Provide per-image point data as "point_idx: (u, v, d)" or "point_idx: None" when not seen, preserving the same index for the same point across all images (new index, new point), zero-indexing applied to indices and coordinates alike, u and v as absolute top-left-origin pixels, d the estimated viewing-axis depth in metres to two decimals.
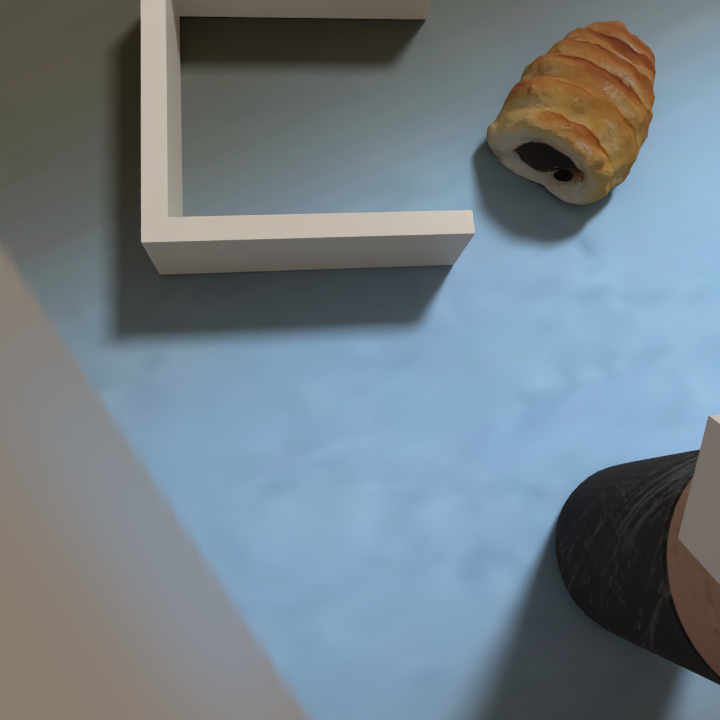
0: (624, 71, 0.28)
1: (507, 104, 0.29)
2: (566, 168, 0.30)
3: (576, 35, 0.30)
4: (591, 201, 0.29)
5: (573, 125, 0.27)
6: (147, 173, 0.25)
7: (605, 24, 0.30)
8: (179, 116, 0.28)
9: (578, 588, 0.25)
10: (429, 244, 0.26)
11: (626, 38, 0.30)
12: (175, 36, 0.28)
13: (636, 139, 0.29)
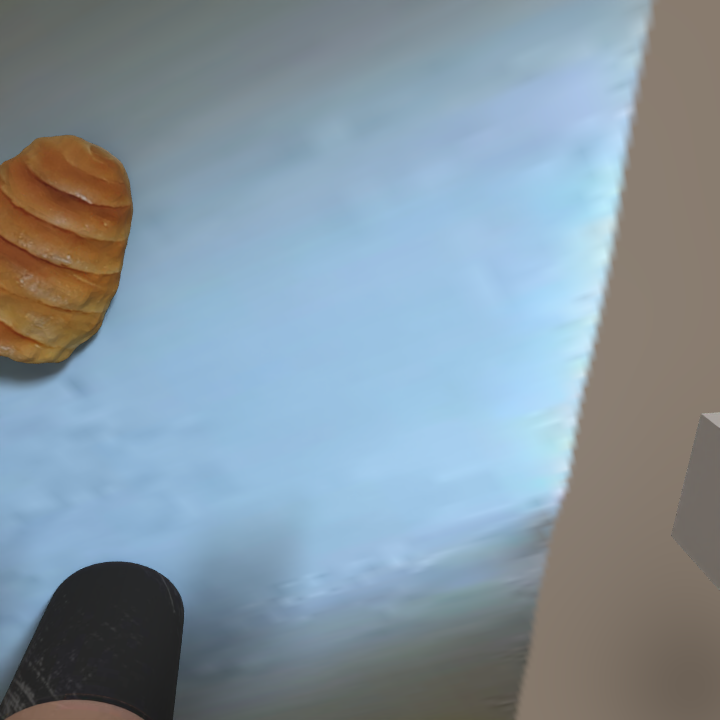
0: (51, 250, 0.24)
1: None
2: None
3: (4, 178, 0.24)
4: None
5: None
6: None
7: (44, 159, 0.24)
8: None
9: None
10: None
11: (68, 185, 0.24)
12: None
13: (86, 313, 0.26)
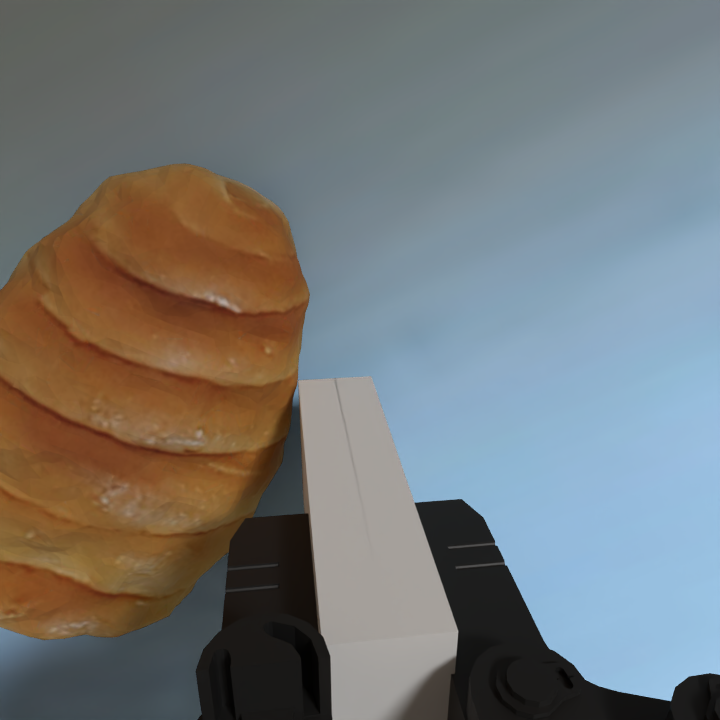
0: (164, 427, 0.11)
1: None
2: None
3: (46, 277, 0.10)
4: None
5: (27, 607, 0.11)
6: None
7: (132, 227, 0.10)
8: None
9: None
10: None
11: (189, 279, 0.10)
12: None
13: (231, 524, 0.13)
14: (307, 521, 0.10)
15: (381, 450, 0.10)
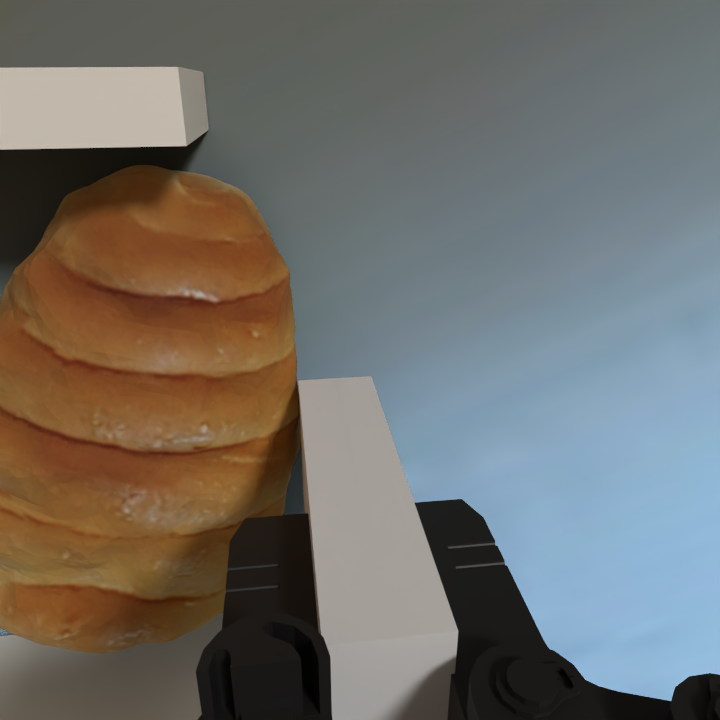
0: (167, 429, 0.11)
1: None
2: None
3: (25, 305, 0.11)
4: None
5: (79, 624, 0.12)
6: None
7: (93, 238, 0.10)
8: None
9: None
10: None
11: (160, 278, 0.10)
12: None
13: (261, 512, 0.13)
14: (307, 521, 0.10)
15: (381, 450, 0.10)
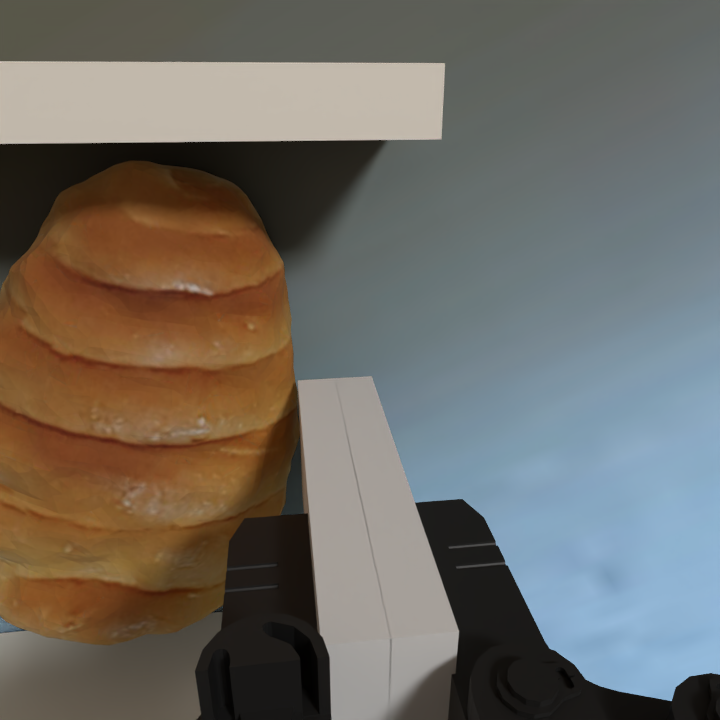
0: (165, 422, 0.11)
1: None
2: None
3: (22, 302, 0.11)
4: None
5: (83, 617, 0.12)
6: None
7: (87, 234, 0.10)
8: None
9: None
10: None
11: (154, 273, 0.11)
12: None
13: (261, 504, 0.13)
14: (306, 521, 0.10)
15: (381, 450, 0.10)
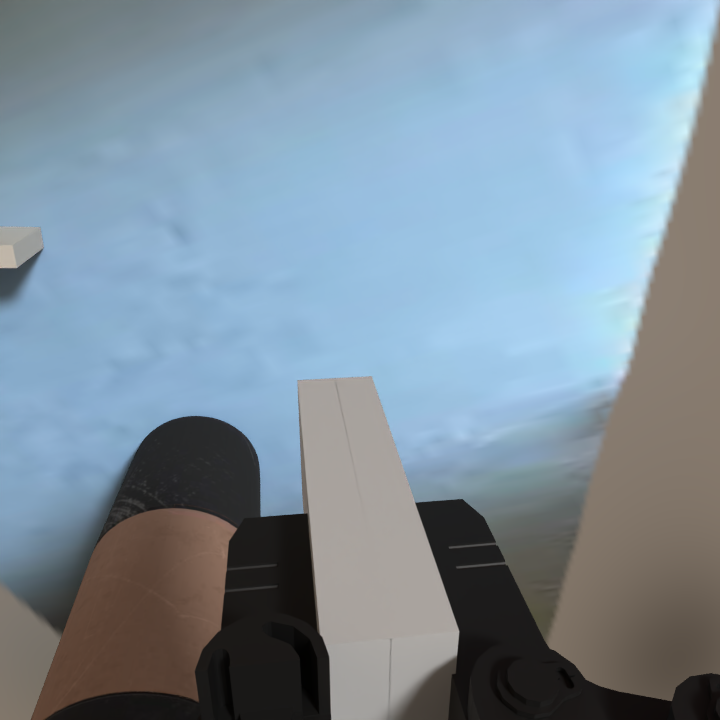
0: None
1: None
2: None
3: None
4: None
5: None
6: None
7: None
8: None
9: None
10: None
11: None
12: None
13: None
14: (306, 521, 0.10)
15: (382, 450, 0.10)
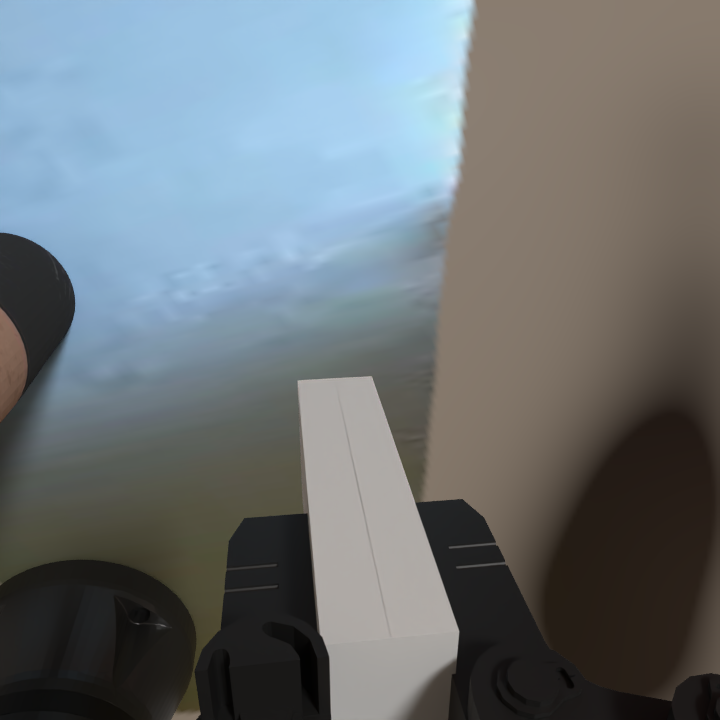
0: None
1: None
2: None
3: None
4: None
5: None
6: None
7: None
8: None
9: None
10: None
11: None
12: None
13: None
14: (306, 521, 0.09)
15: (382, 450, 0.10)
